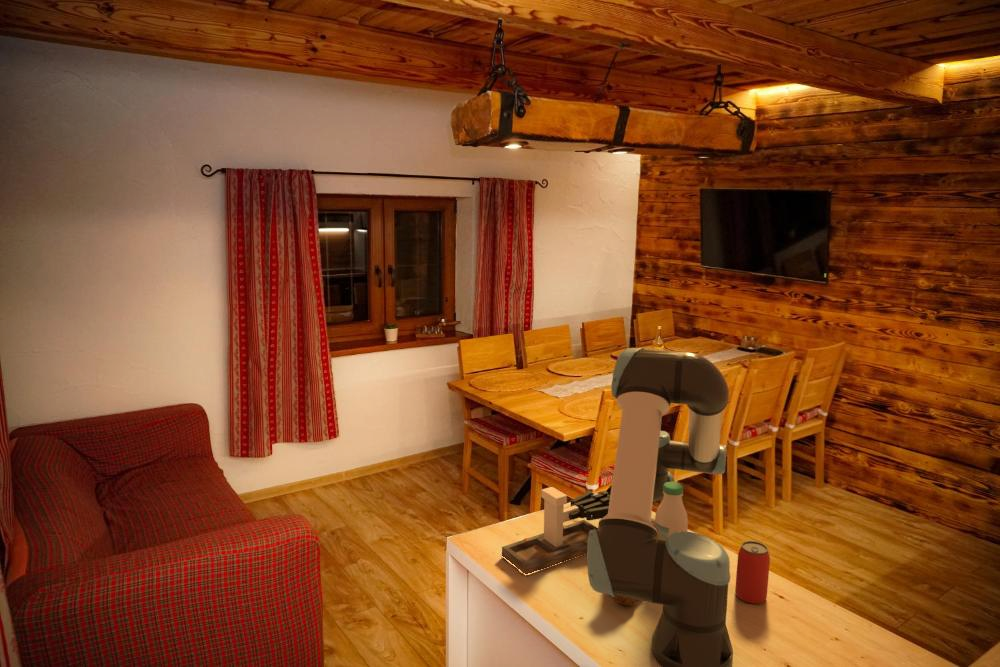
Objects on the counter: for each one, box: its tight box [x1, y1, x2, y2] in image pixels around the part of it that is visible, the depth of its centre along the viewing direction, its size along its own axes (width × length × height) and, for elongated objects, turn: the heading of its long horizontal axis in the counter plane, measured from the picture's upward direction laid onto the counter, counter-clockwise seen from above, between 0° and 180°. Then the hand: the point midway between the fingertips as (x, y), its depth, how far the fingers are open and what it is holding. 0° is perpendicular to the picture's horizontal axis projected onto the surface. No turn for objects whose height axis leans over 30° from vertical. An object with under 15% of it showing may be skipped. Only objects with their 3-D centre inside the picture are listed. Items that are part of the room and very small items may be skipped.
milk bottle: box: [654, 481, 689, 541], centre depth 164 cm, size 8×8×20 cm
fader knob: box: [537, 486, 569, 553], centre depth 168 cm, size 5×7×14 cm
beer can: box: [734, 540, 771, 605], centre depth 151 cm, size 7×7×12 cm
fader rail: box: [501, 519, 598, 574], centre depth 170 cm, size 26×10×3 cm, turn 124°
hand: (556, 517), depth 169 cm, fingers closed
